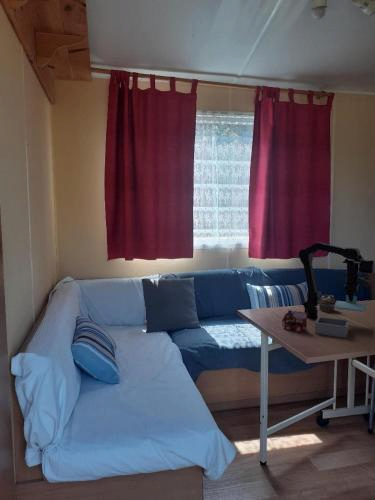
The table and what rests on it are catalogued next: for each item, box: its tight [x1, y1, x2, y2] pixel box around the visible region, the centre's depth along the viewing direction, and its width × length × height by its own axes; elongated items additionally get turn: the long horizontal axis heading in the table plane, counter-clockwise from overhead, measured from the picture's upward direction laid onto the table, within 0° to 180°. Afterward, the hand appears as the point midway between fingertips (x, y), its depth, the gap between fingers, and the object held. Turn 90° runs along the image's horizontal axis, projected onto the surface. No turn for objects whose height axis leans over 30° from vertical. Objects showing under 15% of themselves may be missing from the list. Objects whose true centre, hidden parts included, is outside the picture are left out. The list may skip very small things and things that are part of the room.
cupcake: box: [318, 293, 336, 313], centre depth 217 cm, size 10×10×10 cm
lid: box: [334, 295, 367, 313], centre depth 183 cm, size 14×12×5 cm
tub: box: [314, 316, 350, 339], centre depth 174 cm, size 14×12×6 cm
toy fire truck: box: [281, 309, 308, 333], centre depth 178 cm, size 7×12×10 cm, turn 56°
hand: (351, 301), depth 187 cm, fingers closed on lid
